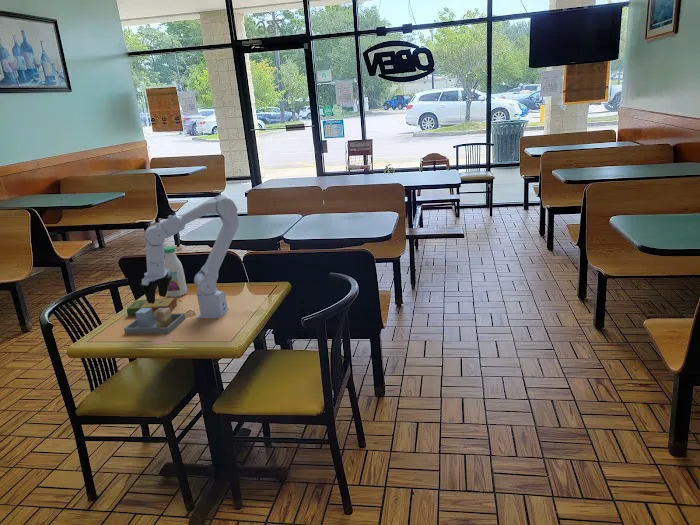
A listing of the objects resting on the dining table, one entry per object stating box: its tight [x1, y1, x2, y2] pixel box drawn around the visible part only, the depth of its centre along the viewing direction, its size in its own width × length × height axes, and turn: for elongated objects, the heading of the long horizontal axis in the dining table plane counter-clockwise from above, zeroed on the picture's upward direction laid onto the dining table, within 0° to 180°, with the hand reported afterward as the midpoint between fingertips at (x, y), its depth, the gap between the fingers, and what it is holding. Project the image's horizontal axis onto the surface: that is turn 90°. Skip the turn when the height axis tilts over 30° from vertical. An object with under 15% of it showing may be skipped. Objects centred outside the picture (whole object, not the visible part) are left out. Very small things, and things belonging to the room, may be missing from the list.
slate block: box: [135, 308, 155, 328], centre depth 183 cm, size 4×4×6 cm
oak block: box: [154, 308, 173, 328], centre depth 182 cm, size 4×4×6 cm
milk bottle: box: [163, 246, 188, 298], centre depth 212 cm, size 8×8×20 cm
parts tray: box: [123, 312, 186, 335], centre depth 183 cm, size 16×12×2 cm
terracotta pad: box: [150, 333, 180, 345], centre depth 173 cm, size 7×7×1 cm
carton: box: [126, 297, 178, 317], centre depth 197 cm, size 8×16×4 cm, turn 88°
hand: (157, 299), depth 181 cm, fingers open, 7 cm apart
